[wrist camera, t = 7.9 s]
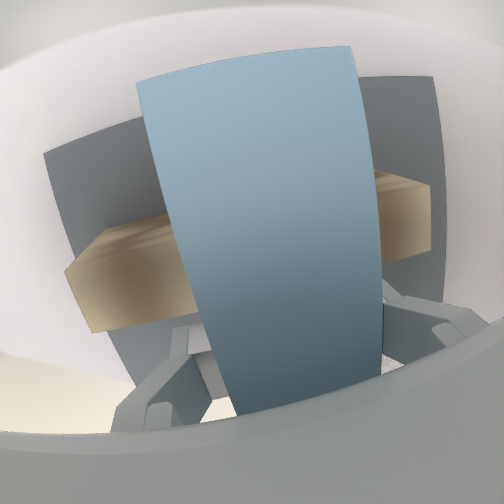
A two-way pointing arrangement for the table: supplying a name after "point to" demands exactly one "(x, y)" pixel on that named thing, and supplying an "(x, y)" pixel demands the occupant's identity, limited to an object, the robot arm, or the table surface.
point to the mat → (152, 203)
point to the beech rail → (173, 272)
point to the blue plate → (274, 218)
